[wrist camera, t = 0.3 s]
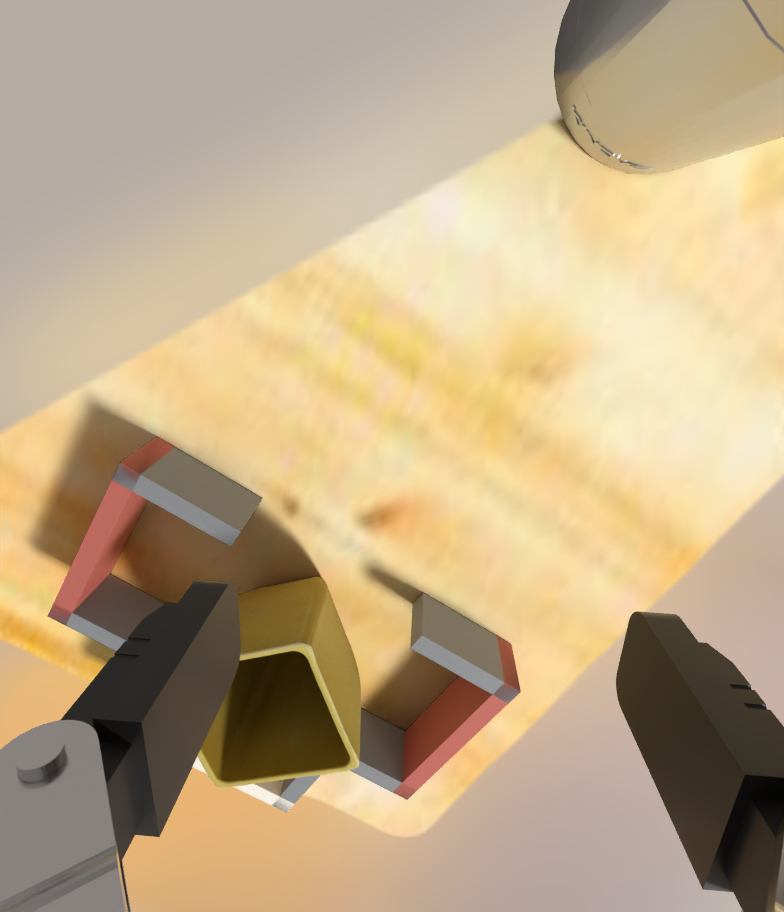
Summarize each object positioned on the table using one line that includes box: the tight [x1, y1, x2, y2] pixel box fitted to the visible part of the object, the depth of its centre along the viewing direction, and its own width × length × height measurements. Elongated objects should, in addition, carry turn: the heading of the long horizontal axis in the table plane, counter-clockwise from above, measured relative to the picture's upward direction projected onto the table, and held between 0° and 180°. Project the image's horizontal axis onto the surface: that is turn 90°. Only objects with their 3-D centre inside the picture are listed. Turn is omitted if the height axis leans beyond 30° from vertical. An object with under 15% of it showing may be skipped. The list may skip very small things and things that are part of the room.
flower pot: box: [197, 577, 361, 788], centre depth 31 cm, size 9×9×9 cm
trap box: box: [48, 437, 521, 812], centre depth 34 cm, size 26×19×4 cm
